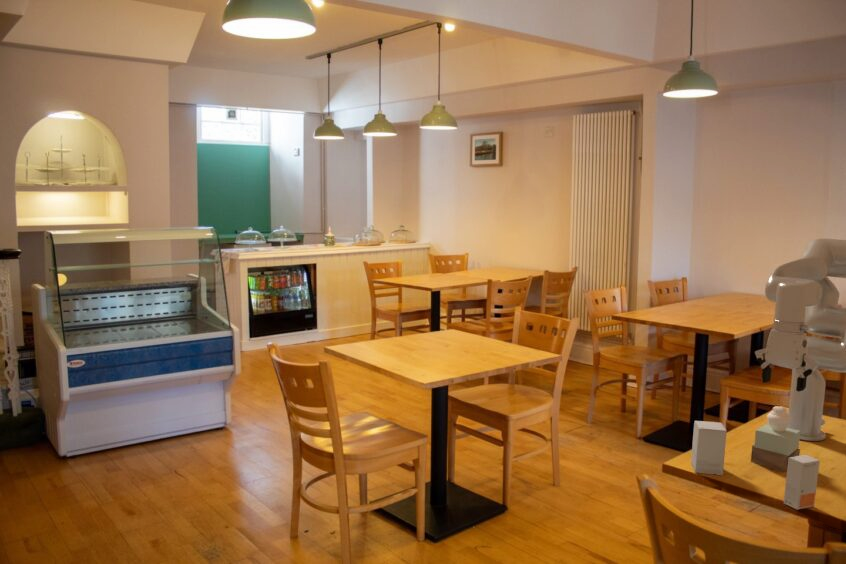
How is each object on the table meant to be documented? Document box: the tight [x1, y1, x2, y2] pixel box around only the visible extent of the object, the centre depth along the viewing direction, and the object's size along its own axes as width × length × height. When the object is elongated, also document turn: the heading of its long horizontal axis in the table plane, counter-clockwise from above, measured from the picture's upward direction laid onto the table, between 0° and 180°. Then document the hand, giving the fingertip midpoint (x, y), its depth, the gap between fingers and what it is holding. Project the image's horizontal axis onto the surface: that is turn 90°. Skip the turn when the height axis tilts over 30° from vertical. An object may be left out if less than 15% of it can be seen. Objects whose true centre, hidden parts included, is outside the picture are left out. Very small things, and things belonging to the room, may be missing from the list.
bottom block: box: [750, 444, 801, 473], centre depth 207 cm, size 9×9×5 cm
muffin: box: [766, 405, 791, 432], centre depth 205 cm, size 6×6×7 cm
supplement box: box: [690, 420, 727, 476], centre depth 200 cm, size 7×7×13 cm
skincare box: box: [783, 454, 821, 511], centre depth 179 cm, size 6×4×12 cm
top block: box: [753, 422, 801, 456], centre depth 206 cm, size 9×9×5 cm
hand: (782, 386), depth 204 cm, fingers open, 9 cm apart
